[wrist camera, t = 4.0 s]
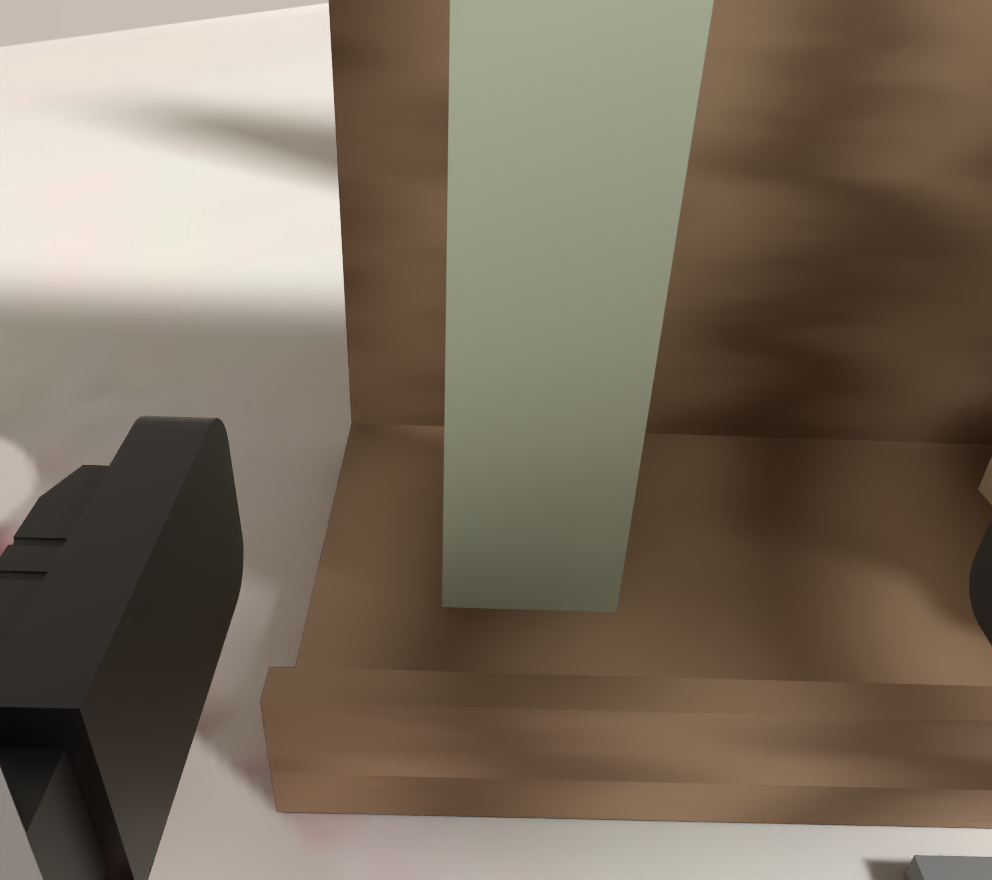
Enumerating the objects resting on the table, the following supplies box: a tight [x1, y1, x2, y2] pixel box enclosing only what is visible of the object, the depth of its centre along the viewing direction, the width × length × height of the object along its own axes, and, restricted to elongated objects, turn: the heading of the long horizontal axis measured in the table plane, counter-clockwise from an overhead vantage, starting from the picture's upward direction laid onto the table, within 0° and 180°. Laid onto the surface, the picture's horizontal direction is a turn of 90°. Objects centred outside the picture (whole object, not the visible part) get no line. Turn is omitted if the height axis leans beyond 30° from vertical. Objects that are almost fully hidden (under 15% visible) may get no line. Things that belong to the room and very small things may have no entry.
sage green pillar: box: [442, 0, 714, 612], centre depth 19 cm, size 4×5×17 cm
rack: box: [260, 0, 992, 828], centre depth 19 cm, size 24×13×18 cm, turn 90°
